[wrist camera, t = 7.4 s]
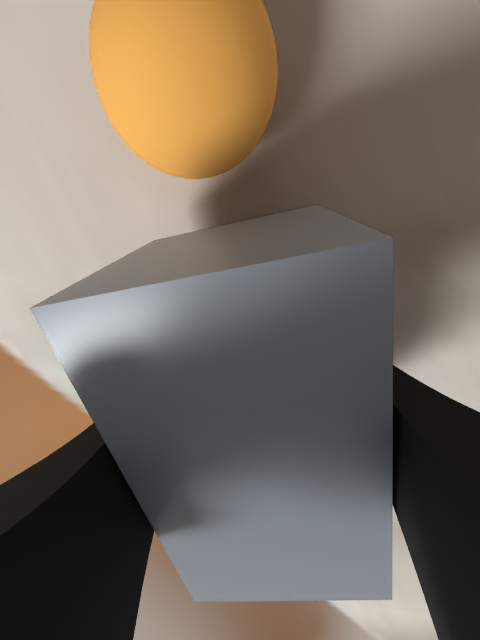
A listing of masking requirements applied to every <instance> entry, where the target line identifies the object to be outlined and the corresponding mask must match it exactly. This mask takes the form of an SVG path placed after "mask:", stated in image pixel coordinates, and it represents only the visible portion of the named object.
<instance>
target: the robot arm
mask: <svg viewBox="0 0 480 640" xmlns="http://www.w3.org/2000/svg"><path fill="white" fill-rule="evenodd" d="M392 504H393V507H394V510H395V512H396V515H397V518H398V521H399V524H400V526H401V529H402V532H403V535H404V538H405V541H406V543H407V546H408V549H409V552H410V555H411V558H412V561H413V564H414V567H415V570H416V573H417V576H418V578H419V581H420V584H421V587H422V590H423V593H424V596H425V599H426V602H427V606H428V609H429V612H430V615H431V618H432V621H433V624H434V627H435V630H436V633H437V636H438V639H439V640H480V412H478V411H476V410H474V409H471V408H469V407H467V406H465V405H463V404H461V403H459V402H457V401H455V400H453V399H451V398H449V397H447V396H445V395H443V394H441V393H439V392H438V391H436V390H434V389H432V388H430V387H429V386H427V385H425V384H423V383H421V382H420V381H418V380H416V379H415V378H413V377H411V376H410V375H408V374H406V373H405V372H403V371H402V370H400V369H399V368H397V367H395V366H394V365H393V479H392ZM153 534H154V529H153V527H152V525H151V524H150V522H149V520H148V518H147V516H146V515H145V513H144V511H143V509H142V508H141V506H140V504H139V502H138V500H137V499H136V497H135V495H134V493H133V491H132V490H131V488H130V486H129V484H128V483H127V481H126V479H125V477H124V475H123V474H122V472H121V470H120V468H119V467H118V465H117V463H116V461H115V459H114V458H113V456H112V454H111V452H110V450H109V449H108V447H107V445H106V443H105V442H104V440H103V438H102V436H101V434H100V433H99V431H98V429H97V427H96V425H95V424H94V423H93V424H92V425H91V426H89V427H88V428H87V429H86V430H84V431H83V432H82V433H81V434H79V435H78V436H76V437H75V438H74V439H72V440H71V441H70V442H68V443H67V444H65V445H64V446H62V447H61V448H59V449H58V450H56V451H55V452H53V453H52V454H50V455H49V456H48V457H46V458H44V459H43V460H41V461H40V462H38V463H36V464H35V465H33V466H31V467H30V468H28V469H26V470H25V471H23V472H21V473H20V474H18V475H16V476H15V477H13V478H11V479H10V480H8V481H7V482H5V483H3V484H1V485H0V640H133V637H134V630H135V625H136V619H137V614H138V608H139V602H140V597H141V591H142V586H143V581H144V576H145V571H146V565H147V561H148V556H149V551H150V547H151V543H152V538H153Z"/></svg>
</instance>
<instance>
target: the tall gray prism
mask: <svg viewBox="0 0 480 640" xmlns="http://www.w3.org/2000/svg"><path fill="white" fill-rule="evenodd" d="M30 310H31V311H32V313H33V315H34V317H35V318H36V320H37V322H38V324H39V326H40V327H41V329H42V331H43V333H44V334H45V336H46V338H47V340H48V342H49V343H50V345H51V347H52V349H53V351H54V352H55V354H56V356H57V358H58V359H59V361H60V363H61V365H62V367H63V368H64V370H65V372H66V374H67V376H68V377H69V379H70V381H71V383H72V384H73V386H74V388H75V390H76V392H77V393H78V395H79V397H80V399H81V400H82V402H83V404H84V406H85V408H86V409H87V411H88V413H89V415H90V417H91V418H92V420H93V422H94V424H95V425H96V427H97V429H98V431H99V433H100V434H101V436H102V438H103V440H104V442H105V443H106V445H107V447H108V449H109V450H110V452H111V454H112V456H113V458H114V459H115V461H116V463H117V465H118V467H119V468H120V470H121V472H122V474H123V475H124V477H125V479H126V481H127V483H128V484H129V486H130V488H131V490H132V491H133V493H134V495H135V497H136V499H137V500H138V502H139V504H140V506H141V508H142V509H143V511H144V513H145V515H146V516H147V518H148V520H149V522H150V524H151V525H152V527H153V529H154V531H155V532H156V534H157V536H158V538H159V540H160V541H161V543H162V544H163V547H164V549H165V550H166V552H167V554H168V556H169V557H170V559H171V561H172V562H173V564H174V566H175V568H176V570H177V572H178V574H179V575H180V577H181V579H182V581H183V582H184V584H185V586H186V588H187V590H188V591H189V593H190V595H191V597H192V599H193V600H194V601H195V602H216V601H217V602H218V601H220V602H224V601H309V600H310V601H316V600H317V601H318V600H392V479H393V237H391V236H389V235H386V234H384V233H382V232H379V231H377V230H375V229H373V228H370V227H368V226H366V225H363V224H361V223H359V222H357V221H354V220H352V219H350V218H347V217H345V216H343V215H341V214H338V213H336V212H334V211H331V210H329V209H327V208H325V207H322V206H320V205H313V206H309V207H304V208H299V209H295V210H290V211H286V212H281V213H277V214H272V215H268V216H263V217H258V218H254V219H249V220H245V221H240V222H236V223H231V224H226V225H222V226H217V227H213V228H208V229H204V230H199V231H195V232H190V233H185V234H181V235H176V236H172V237H167V238H163V239H158V240H154V241H152V242H150V243H148V244H146V245H145V246H143V247H141V248H139V249H137V250H135V251H134V252H132V253H130V254H128V255H126V256H124V257H123V258H121V259H119V260H117V261H115V262H113V263H112V264H110V265H108V266H106V267H104V268H102V269H101V270H99V271H97V272H95V273H93V274H91V275H90V276H88V277H86V278H84V279H82V280H80V281H79V282H77V283H75V284H73V285H71V286H69V287H68V288H66V289H64V290H62V291H60V292H58V293H57V294H55V295H53V296H51V297H49V298H47V299H46V300H44V301H42V302H40V303H38V304H36V305H35V306H33V307H31V308H30Z"/></svg>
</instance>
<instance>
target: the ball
mask: <svg viewBox="0 0 480 640" xmlns="http://www.w3.org/2000/svg"><path fill="white" fill-rule="evenodd" d="M89 55H90V63H91V70H92V75H93V79H94V83H95V88H96V91H97V94H98V96H99V99H100V102H101V104H102V107H103V109H104V111H105V113H106V115H107V117H108V119H109V121H110V122H111V124H112V126H113V128H114V129H115V131H116V132H117V133H118V135H119V136H120V138H121V139H122V140H123V141H124V142H125V144H126V145H127V146H128V147H129V148H130V149H131V150H132V151H133V152H134V153H135V154H136V155H137V156H138V157H139V158H141V159H142V160H143V161H145V162H146V163H147V164H149V165H151V166H152V167H154V168H156V169H157V170H160V171H162V172H164V173H166V174H169V175H172V176H176V177H180V178H186V179H202V178H209V177H213V176H217V175H219V174H222V173H224V172H226V171H228V170H230V169H232V168H233V167H235V166H236V165H238V164H239V163H240V162H241V161H243V160H244V159H245V158H246V157H247V156H248V155H249V154H250V153H251V151H252V150H253V149H254V147H255V146H256V145H257V143H258V142H259V140H260V138H261V137H262V135H263V133H264V131H265V129H266V127H267V125H268V122H269V120H270V117H271V114H272V111H273V107H274V102H275V98H276V92H277V82H278V60H277V50H276V43H275V38H274V34H273V29H272V26H271V23H270V20H269V16H268V13H267V11H266V9H265V7H264V4H263V2H262V0H95V1H94V4H93V9H92V14H91V19H90V29H89Z"/></svg>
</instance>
